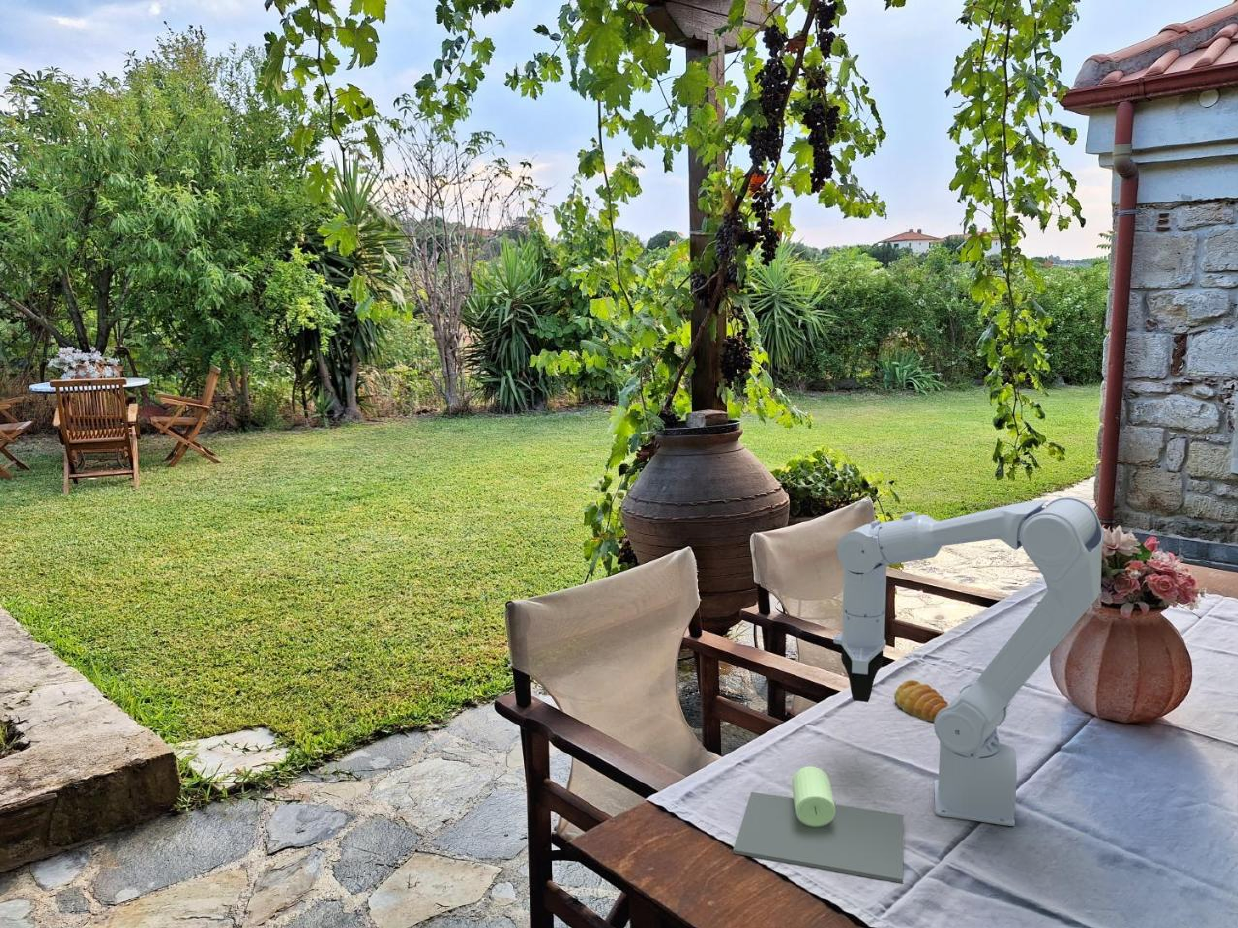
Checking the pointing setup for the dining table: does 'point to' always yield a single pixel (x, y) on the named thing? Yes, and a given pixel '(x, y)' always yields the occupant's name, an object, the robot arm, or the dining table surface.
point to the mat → (823, 838)
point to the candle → (813, 797)
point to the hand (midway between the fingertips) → (861, 699)
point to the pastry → (919, 700)
